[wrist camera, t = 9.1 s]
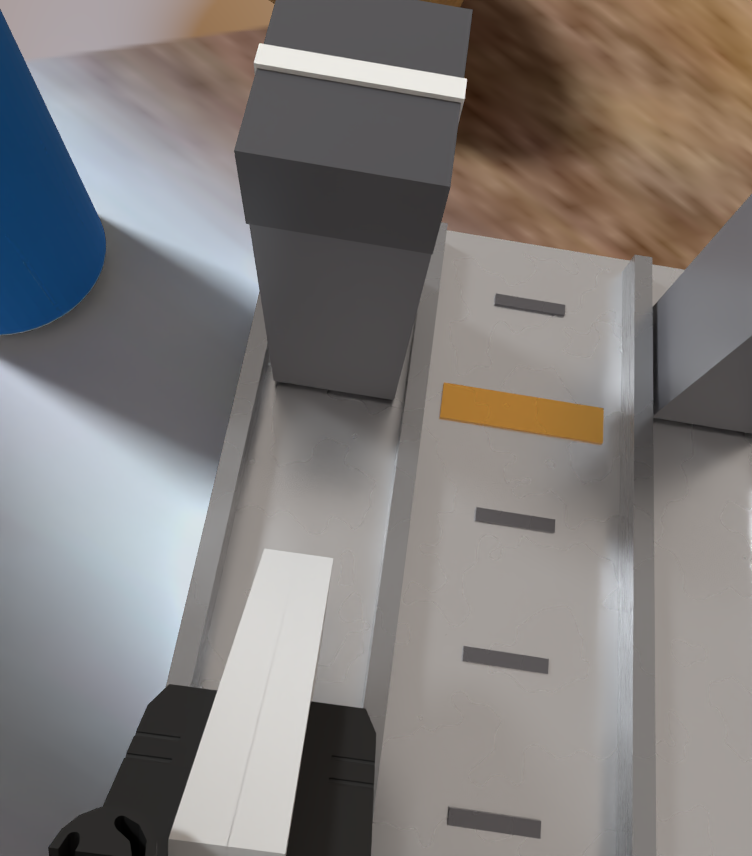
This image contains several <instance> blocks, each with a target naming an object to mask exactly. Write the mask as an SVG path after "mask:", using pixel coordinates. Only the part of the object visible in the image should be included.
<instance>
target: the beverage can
mask: <svg viewBox="0 0 752 856" xmlns="http://www.w3.org/2000/svg"><path fill="white" fill-rule="evenodd" d="M105 255H106V239H105V233H104V229H103V226H102V223H101V221H100V219H99V217H98V214H97V212H96V210H95V208H94V206H93V204H92V202H91V200H90V198H89V195H88V193H87V191H86V189H85V187H84V185H83V183H82V181H81V179H80V176H79V174H78V172H77V170H76V168H75V166H74V164H73V162H72V160H71V157H70V155H69V153H68V151H67V149H66V147H65V145H64V143H63V141H62V138H61V136H60V134H59V132H58V130H57V128H56V126H55V124H54V122H53V119H52V117H51V115H50V113H49V111H48V109H47V107H46V105H45V103H44V100H43V98H42V96H41V94H40V92H39V90H38V88H37V86H36V83H35V81H34V79H33V77H32V75H31V73H30V71H29V69H28V67H27V64H26V62H25V60H24V58H23V56H22V54H21V52H20V50H19V48H18V45H17V43H16V41H15V39H14V37H13V35H12V33H11V31H10V29H9V27H8V25H7V22H6V20H5V18H4V16H3V14H2V12H1V10H0V335H11V334H17V333H22V332H27V331H30V330H34V329H37V328H40V327H42V326H44V325H47V324H49V323H51V322H53V321H55V320H57V319H59V318H60V317H62V316H64V315H65V314H66V313H68V312H69V311H71V310H72V309H73V308H74V307H76V306H77V305H78V304H79V303H80V302H81V301H82V300H83V299H84V298H85V297H86V296H87V294H88V293H89V292H90V291H91V289H92V288H93V286H94V285H95V283H96V281H97V279H98V277H99V275H100V273H101V271H102V268H103V265H104V260H105Z"/></svg>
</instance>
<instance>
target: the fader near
mask: <svg viewBox="0 0 752 856" xmlns="http://www.w3.org/2000/svg"><path fill="white" fill-rule="evenodd" d="M472 11H473V10H472V9H466V8H460V7H454V6H448V5H443V4H437V3H431V2H425V1H420V0H276V1H275V5H274V9H273V12H272V16H271V19H270V23H269V27H268V30H267V34H266V37H265V41H264V44H261V43H259V46H258V50H257V53H256V57H255V61H254V69H255V77H254V81H253V84H252V88H251V92H250V95H249V99H248V103H247V106H246V110H245V113H244V117H243V121H242V124H241V128H240V131H239V135H238V139H237V142H236V146H235V150H234V152H235V159H236V165H237V171H238V177H239V183H240V190H241V196H242V202H243V208H244V214H245V221H246V224H249V225H250V231H251V238H252V244H253V251H254V257H255V264H256V270H257V277H258V283H259V290H260V296H261V303H262V309H263V316H264V322H265V329H266V335H267V342H268V348H269V354H270V361H271V367H272V374H273V380H274V381H278V382H284V383H290V384H296V385H303V386H309V387H315V388H321V389H328V390H334V391H340V392H346V393H352V394H359V395H365V396H371V397H377V398H384V399H390V400H394V399H395V395H396V391H397V387H398V383H399V379H400V375H401V371H402V368H403V364H404V360H405V356H406V352H407V348H408V344H409V340H410V337H411V333H412V329H413V325H414V321H415V317H416V313H417V309H418V305H419V302H420V298H421V294H422V290H423V286H424V282H425V278H426V274H427V271H428V267H429V263H430V259H431V255H432V254H433V251H434V247H435V244H436V240H437V236H438V232H439V228H440V224H441V221H442V217H443V213H444V209H445V205H446V201H447V198H448V194H449V190H450V185H451V177H452V169H453V161H454V154H455V146H456V138H457V130H458V124H459V120H460V116H461V112H462V108H463V104H464V100H465V92H466V84H467V79H465V78H464V75H465V67H466V59H467V51H468V43H469V35H470V27H471V19H472Z"/></svg>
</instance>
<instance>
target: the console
mask: <svg viewBox="0 0 752 856" xmlns="http://www.w3.org/2000/svg"><path fill="white" fill-rule="evenodd" d="M447 225H448V224H447V223H441V224H440V228H439V232H438V236H437V240H436V244H435V247H434V251H433V254H432V255H431V259H430V263H429V267H428V271H427V274H426V278H425V282H424V286H423V290H422V294H421V298H420V302H419V305H418V309H417V313H416V317H415V321H414V325H413V329H412V333H411V337H410V340H409V344H408V348H407V352H406V356H405V360H404V364H403V368H402V371H401V375H400V379H399V383H398V387H397V391H396V395H395V399H394V400H390V399H384V398H377V397H371V396H365V395H359V394H352V393H346V392H340V391H334V390H328V389H321V388H315V387H309V386H303V385H296V384H290V383H284V382H278V381H274V380H273V374H272V367H271V361H270V354H269V348H268V342H267V335H266V329H265V322H264V316H263V309H262V303H261V296H260V292H259V296H258V300H257V304H256V308H255V313H254V317H253V321H252V325H251V330H250V334H249V338H248V342H247V346H246V351H245V355H244V359H243V363H242V368H241V372H240V376H239V380H238V384H237V389H236V393H235V397H234V401H233V406H232V410H231V414H230V418H229V422H228V427H227V431H226V435H225V439H224V444H223V448H222V452H221V456H220V460H219V465H218V469H217V473H216V477H215V482H214V486H213V490H212V494H211V499H210V503H209V507H208V511H207V515H206V520H205V524H204V528H203V532H202V537H201V541H200V545H199V549H198V553H197V558H196V562H195V566H194V570H193V575H192V579H191V583H190V587H189V591H188V596H187V600H186V604H185V608H184V613H183V617H182V621H181V625H180V629H179V634H178V638H177V642H176V646H175V651H174V655H173V659H172V663H171V667H170V672H169V676H168V680H167V684H166V687H167V686H168V685H169V684H173V685H181V686H188V687H196V688H203V689H210V690H218V687H219V684H220V681H221V678H222V675H223V672H224V669H225V666H226V663H227V660H228V657H229V654H230V651H231V648H232V645H233V642H234V639H235V636H236V633H237V630H238V627H239V624H240V621H241V618H242V615H243V612H244V609H245V606H246V603H247V600H248V597H249V594H250V591H251V588H252V585H253V582H254V579H255V576H256V573H257V570H258V567H259V564H260V561H261V558H262V554H263V551H264V549H271V550H278V551H285V552H293V553H300V554H307V555H314V556H321V557H328V558H333V565H332V572H331V579H330V586H329V593H328V600H327V608H326V615H325V622H324V629H323V636H322V643H321V651H320V658H319V664H318V670H317V677H316V683H315V689H314V696H313V702H320V703H328V704H335V705H342V706H350V707H357V708H365V709H366V710H367V712H368V715H369V717H370V720H371V722H372V724H373V727H374V729H375V732H376V754H375V777H374V800H373V823H372V846H371V856H752V434H751V433H745V432H739V431H733V430H727V429H720V428H714V427H708V426H702V425H696V424H690V423H683V422H677V421H671V420H665V419H659V418H653V306H654V305H655V304H656V303H657V301H658V300H659V299H660V298H661V297H662V296H663V295H664V293H665V292H666V291H667V290H668V289H669V288H670V287H671V285H672V284H673V283H674V282H675V281H676V280H677V279H678V277H679V276H680V275H681V274H682V273H683V272H684V271H685V270H682V269H676V268H670V267H664V266H658V265H652V257H646V256H640V255H634V256H633V258H632V259H631V260H630V261H628V260H622V259H616V258H610V257H604V256H598V255H592V254H586V253H580V252H574V251H568V250H562V249H556V248H550V247H544V246H538V245H532V244H526V243H520V242H514V241H508V240H502V239H496V238H490V237H484V236H478V235H472V234H466V233H460V232H454V231H448V230H447Z"/></svg>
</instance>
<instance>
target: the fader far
mask: <svg viewBox="0 0 752 856" xmlns="http://www.w3.org/2000/svg"><path fill="white" fill-rule="evenodd" d="M653 418H659V419H665V420H671V421H677V422H683V423H690V424H696V425H702V426H708V427H714V428H720V429H727V430H733V431H739V432H745V433H751V434H752V194H751V195H750V197H749V198H748V199H747V200H746V201H745V202H744V203H743V205H742V206H741V207H740V208H739V209H738V210H737V211H736V212H735V214H734V215H733V216H732V217H731V218H730V219H729V220H728V222H727V223H726V224H725V225H724V226H723V227H722V228H721V230H720V231H719V232H718V233H717V234H716V235H715V236H714V238H713V239H712V240H711V241H710V242H709V243H708V244H707V246H706V247H705V248H704V249H703V250H702V251H701V252H700V254H699V255H698V256H697V257H696V258H695V259H694V260H693V261H692V263H691V264H690V265H689V266H688V267H687V268H686V269H685V271H684V272H683V273H682V274H681V275H680V276H679V277H678V279H677V280H676V281H675V282H674V283H673V284H672V285H671V287H670V288H669V289H668V290H667V291H666V292H665V293H664V295H663V296H662V297H661V298H660V299H659V300H658V301H657V303H656V304H655V305H654V306H653Z"/></svg>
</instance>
